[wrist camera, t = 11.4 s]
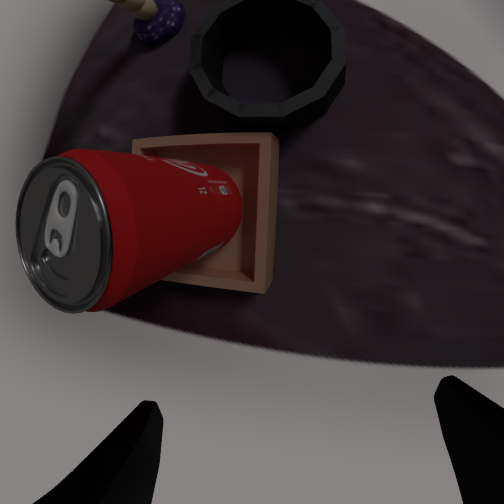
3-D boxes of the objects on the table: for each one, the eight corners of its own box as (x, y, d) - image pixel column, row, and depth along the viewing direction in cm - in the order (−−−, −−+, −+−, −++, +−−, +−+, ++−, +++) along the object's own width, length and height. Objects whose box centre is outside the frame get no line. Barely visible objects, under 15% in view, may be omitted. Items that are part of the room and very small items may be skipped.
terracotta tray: (279, 139, 18) (271, 132, 15) (272, 280, 20) (264, 293, 17) (153, 143, 20) (132, 139, 17) (152, 266, 22) (133, 275, 19)
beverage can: (160, 225, 20) (6, 267, 9) (189, 152, 19) (31, 127, 7) (226, 262, 19) (97, 353, 8) (262, 187, 18) (144, 188, 7)
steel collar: (341, 15, 15) (340, -14, 12) (344, 132, 17) (347, 119, 13) (216, 21, 17) (196, -3, 14) (208, 130, 19) (184, 120, 15)
